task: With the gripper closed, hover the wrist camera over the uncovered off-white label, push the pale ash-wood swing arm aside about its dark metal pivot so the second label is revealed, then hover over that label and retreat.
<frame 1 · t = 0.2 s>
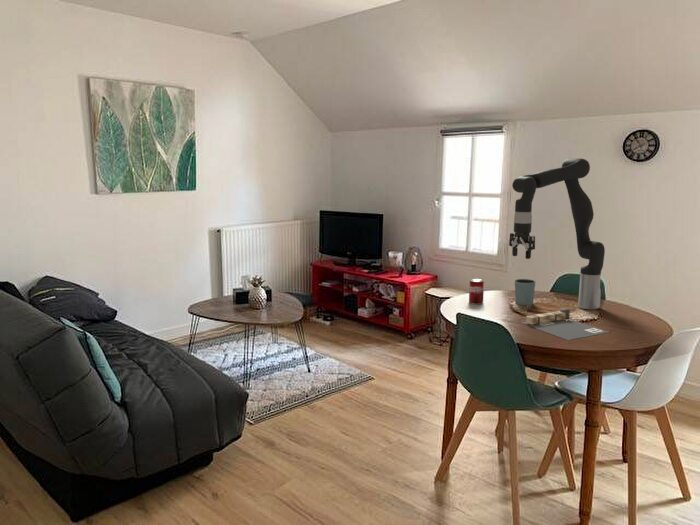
hand: (521, 257, 244), 29 cm above the table, fingers open, 8 cm apart
soda can: (476, 303, 279), on the table
swing arm: (548, 316, 244), point 3 cm above the table, hinge at 0.0°
label mat: (563, 327, 235), on the table
teal cup: (523, 304, 276), on the table
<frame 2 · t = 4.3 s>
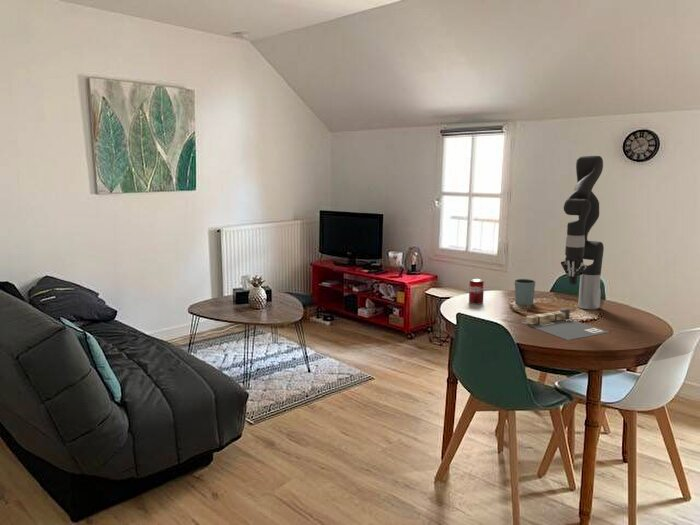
hand: (572, 284, 235), 19 cm above the table, fingers closed
nothing on the table moved.
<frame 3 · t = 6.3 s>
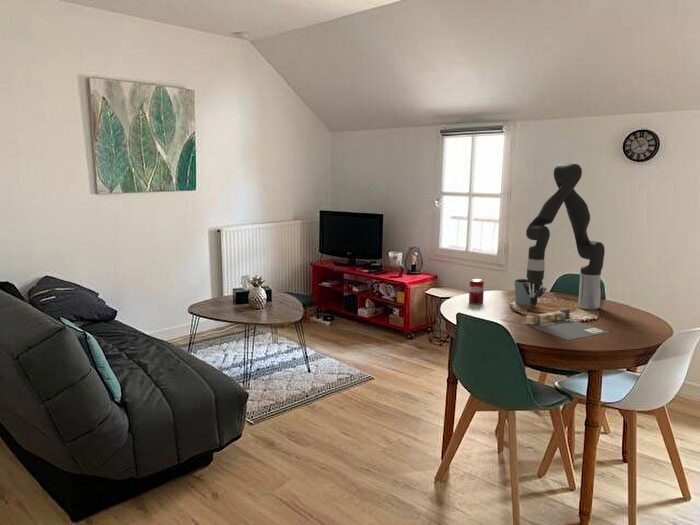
hand: (533, 305, 250), 6 cm above the table, fingers closed
nothing on the table moved.
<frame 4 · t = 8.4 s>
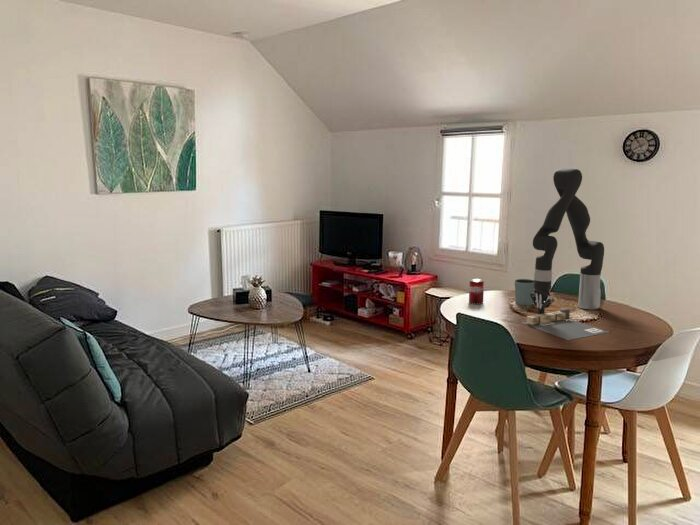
hand: (540, 315, 246), 2 cm above the table, fingers closed
swing arm: (549, 316, 244), point 3 cm above the table, hinge at 1.0°, touching gripper
everything else where it was.
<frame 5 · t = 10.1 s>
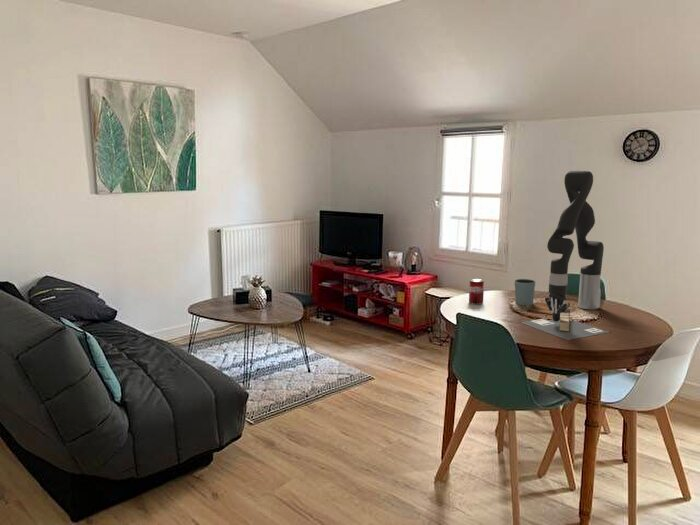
hand: (555, 320, 238), 2 cm above the table, fingers closed
swing arm: (564, 319, 239), point 3 cm above the table, hinge at 44.3°, touching gripper
everything else where it was.
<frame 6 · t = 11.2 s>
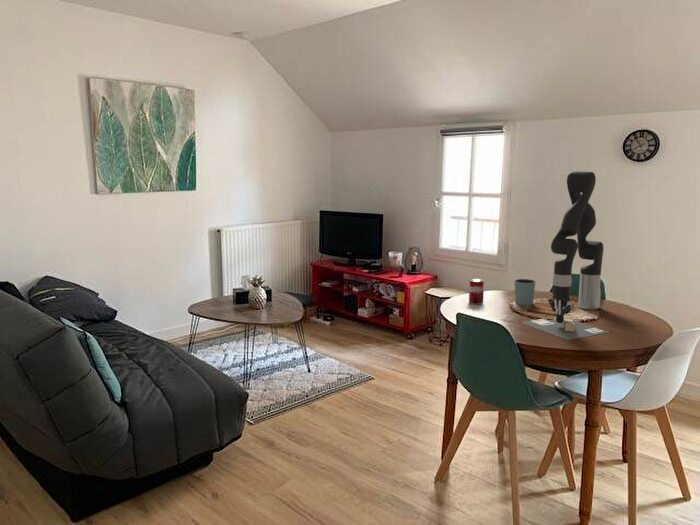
hand: (559, 322, 236), 2 cm above the table, fingers closed
swing arm: (566, 319, 239), point 3 cm above the table, hinge at 50.8°, touching gripper
everything else where it was.
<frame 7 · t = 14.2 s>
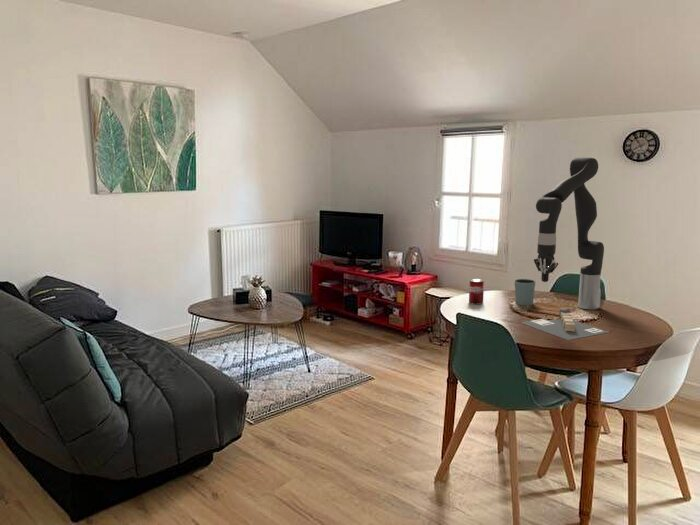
hand: (544, 281, 239), 19 cm above the table, fingers closed
swing arm: (567, 319, 239), point 3 cm above the table, hinge at 50.9°
everything else where it was.
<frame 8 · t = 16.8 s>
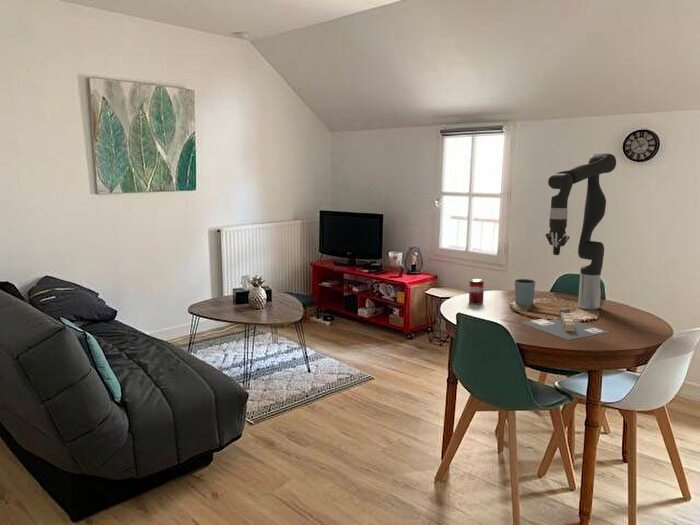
hand: (556, 254, 249), 29 cm above the table, fingers closed
nothing on the table moved.
at the end: swing arm at +51° (first picture: +0°) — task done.
